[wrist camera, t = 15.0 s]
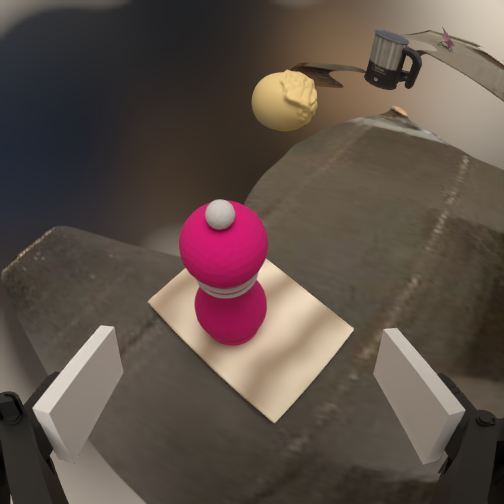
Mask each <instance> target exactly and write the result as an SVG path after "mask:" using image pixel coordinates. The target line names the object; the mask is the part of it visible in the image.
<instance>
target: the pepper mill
mask: <svg viewBox="0 0 504 504" xmlns="http://www.w3.org/2000/svg"><path fill="white" fill-rule="evenodd" d="M179 248H180V255H181V259H182V261H183V264H184V266H185V267H186V269H187V270H188V272H189V273H190V274H191V275H192V276H193V277H194V278H195V279H196V281H197V283H198V285H199V288H198V290H197V293H196V296H195V303H194V307H195V312H196V316H197V319H198V322H199V323H200V325H201V327H202V328H203V329H204V330H205V331H206V332H207V333H208V334H210V335H211V337H212V338H214V339H215V340H216V341H218V342H219V343H221V344H224V345H232V346H235V345H240V344H243V343H246V342H247V341H249V340H250V339H251V338H253V337H254V335H255V334H256V333H257V331H258V329H259V328H260V326H261V325H262V323H263V321H264V319H265V316H266V312H267V299H266V295H265V292H264V289H263V288H262V286H261V284H260V283H259V282H258V280H257V277H258V273H259V270H260V269H261V267H262V265H263V264H264V262H265V259H266V255H267V249H268V238H267V234H266V230H265V227H264V225H263V223H262V222H261V220H260V219H259V217H258V216H257V215H256V214H255V213H254V212H253V211H252V210H251V209H249V208H247V207H246V206H244V205H242V204H239V203H236V202H232V201H225V200H215V201H213V202H211V203H208V204H205V205H204V206H202V207H200V208H198V209H197V210H196V211H195V212H193V214H191V216H190V217H189V218H188V219H187V220H186V222H185V224H184V225H183V227H182V230H181V234H180V239H179Z"/></svg>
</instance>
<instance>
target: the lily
mask: <svg viewBox="0 0 504 504" xmlns="http://www.w3.org/2000/svg"><path fill="white" fill-rule="evenodd" d="M443 30H444V28H443ZM444 34H445V37H444V35H442V36H443V37H444V39H443V41H444V42H445V43H447V44H448V48H450V49H451V50H452V48H451V46H454V44H453V42H452V41H451V40H450V39H449V37H448V34H447V33H446V32H445V30H444ZM443 41H441V42H443ZM441 42H440V43H441ZM440 43H439V44H440ZM439 44H438V45H439Z"/></svg>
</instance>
